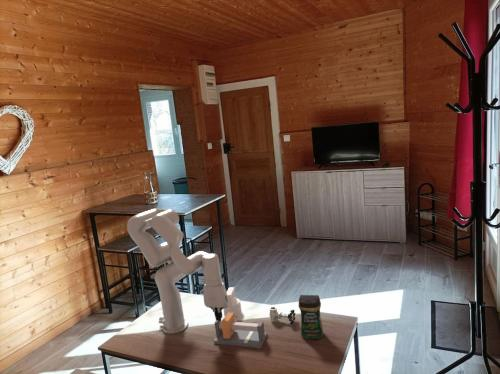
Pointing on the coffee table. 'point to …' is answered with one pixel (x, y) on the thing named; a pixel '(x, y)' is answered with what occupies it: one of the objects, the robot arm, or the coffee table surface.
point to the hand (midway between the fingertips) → (219, 319)
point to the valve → (281, 315)
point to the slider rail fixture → (242, 334)
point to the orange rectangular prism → (228, 325)
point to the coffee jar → (310, 317)
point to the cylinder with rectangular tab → (232, 303)
